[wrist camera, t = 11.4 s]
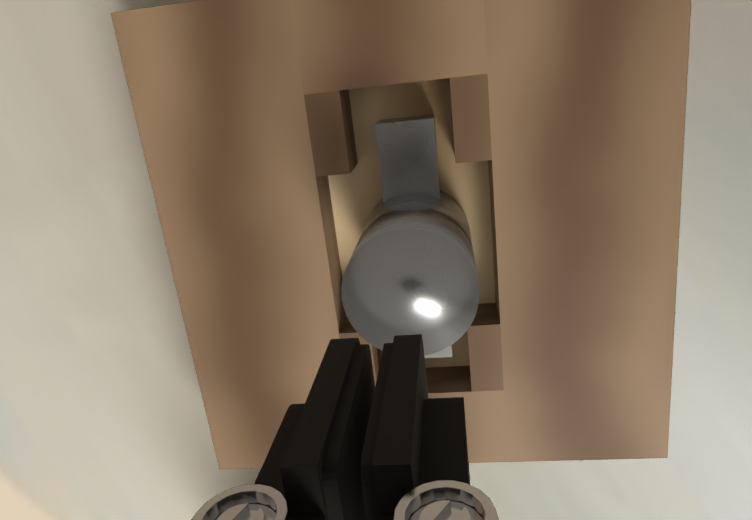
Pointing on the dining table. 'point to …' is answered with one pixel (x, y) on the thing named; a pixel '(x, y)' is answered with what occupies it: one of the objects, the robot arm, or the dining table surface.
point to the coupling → (412, 249)
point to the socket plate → (457, 178)
